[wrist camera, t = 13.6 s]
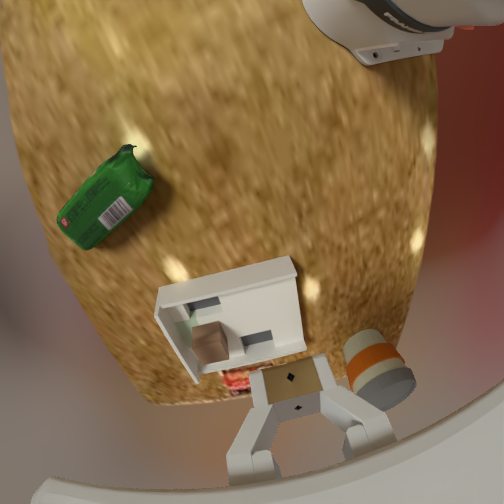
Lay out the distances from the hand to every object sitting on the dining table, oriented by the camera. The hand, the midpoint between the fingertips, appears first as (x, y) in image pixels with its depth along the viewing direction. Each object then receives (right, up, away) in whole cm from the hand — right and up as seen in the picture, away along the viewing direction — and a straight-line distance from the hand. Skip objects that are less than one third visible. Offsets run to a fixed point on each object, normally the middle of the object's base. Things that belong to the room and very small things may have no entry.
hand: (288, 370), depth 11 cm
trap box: (-4, -5, +37) cm, 38 cm away
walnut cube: (-8, -8, +35) cm, 37 cm away
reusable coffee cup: (+22, -15, +47) cm, 54 cm away
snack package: (-20, +12, +24) cm, 34 cm away
